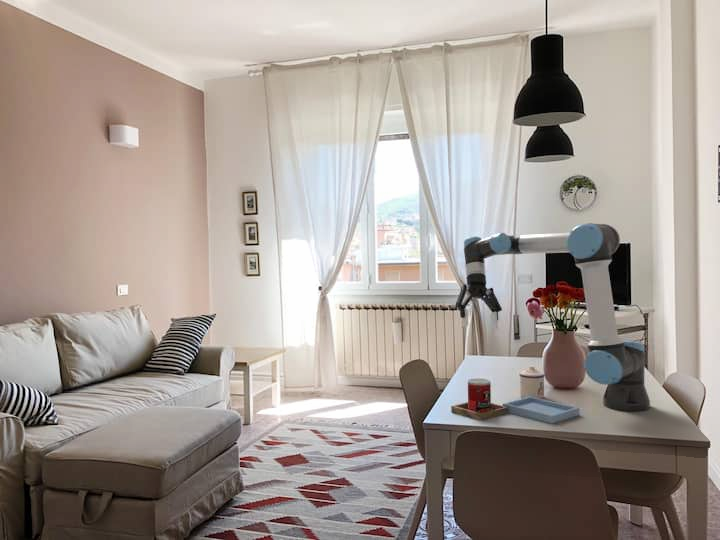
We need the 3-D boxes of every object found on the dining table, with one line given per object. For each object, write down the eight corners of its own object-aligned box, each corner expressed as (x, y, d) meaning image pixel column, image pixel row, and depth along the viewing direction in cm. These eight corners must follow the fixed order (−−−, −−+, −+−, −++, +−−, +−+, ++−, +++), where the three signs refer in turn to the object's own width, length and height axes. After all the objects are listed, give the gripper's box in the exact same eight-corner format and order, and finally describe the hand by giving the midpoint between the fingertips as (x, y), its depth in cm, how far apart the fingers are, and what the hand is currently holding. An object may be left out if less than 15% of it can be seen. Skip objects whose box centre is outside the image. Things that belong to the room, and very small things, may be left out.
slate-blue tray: (579, 415, 198) (579, 407, 198) (552, 423, 189) (552, 416, 189) (529, 403, 214) (529, 396, 214) (502, 410, 205) (502, 403, 205)
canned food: (478, 416, 199) (477, 384, 198) (463, 411, 206) (463, 380, 205) (495, 413, 202) (495, 381, 202) (480, 408, 209) (480, 377, 209)
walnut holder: (508, 412, 203) (507, 407, 203) (481, 420, 194) (481, 414, 194) (477, 405, 213) (477, 399, 213) (451, 411, 205) (451, 406, 205)
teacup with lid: (543, 400, 217) (543, 369, 217) (518, 398, 221) (517, 367, 221) (546, 393, 228) (546, 363, 228) (522, 391, 232) (522, 362, 232)
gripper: (496, 281, 242) (501, 331, 235) (443, 274, 233) (447, 327, 226) (507, 275, 236) (513, 327, 229) (454, 268, 226) (458, 322, 219)
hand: (480, 327), depth 227 cm, fingers open, 13 cm apart
